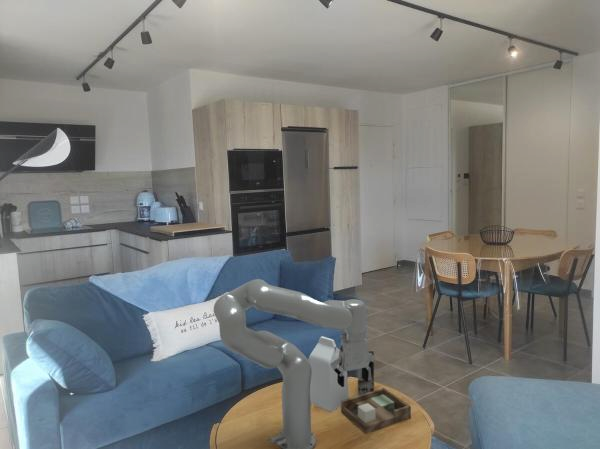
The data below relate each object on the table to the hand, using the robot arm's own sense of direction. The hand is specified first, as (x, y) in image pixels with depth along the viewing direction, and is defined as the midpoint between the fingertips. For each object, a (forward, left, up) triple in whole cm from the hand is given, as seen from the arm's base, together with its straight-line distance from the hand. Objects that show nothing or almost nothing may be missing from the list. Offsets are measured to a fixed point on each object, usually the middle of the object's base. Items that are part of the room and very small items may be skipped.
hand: (353, 382), depth 156 cm
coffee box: (+19, +19, -17) cm, 32 cm away
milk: (+2, +21, -17) cm, 27 cm away
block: (+5, 0, -15) cm, 16 cm away
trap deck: (+12, +3, -17) cm, 21 cm away
